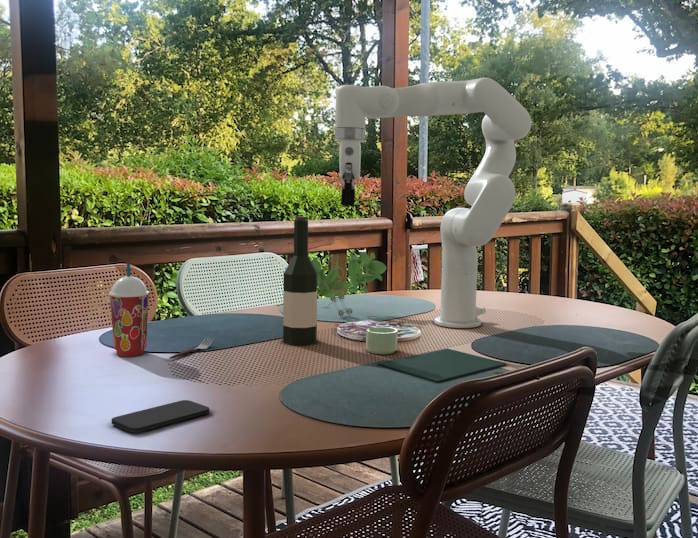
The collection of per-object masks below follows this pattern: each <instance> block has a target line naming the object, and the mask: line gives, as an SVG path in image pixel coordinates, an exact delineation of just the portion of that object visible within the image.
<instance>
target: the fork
mask: <svg viewBox="0 0 698 538" xmlns="http://www.w3.org/2000/svg"><path fill="white" fill-rule="evenodd" d="M214 340H215V337H212V336H211V337H210V336H208V337H207V336H206V335H205V338H204V339H203V340H202V341H201V343H200V344H199V345H197V347H195V348H191V349H187V350H183V351H180V352H178V353H176V354H174V355H171V356H169V359H175V358H178V357H181V356H185V355H188V354H190V353H192V352H193V351H196V350H207V349H209V347H210V346H211V344H213V341H214Z"/></svg>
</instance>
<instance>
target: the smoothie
mask: <svg viewBox="0 0 698 538" xmlns="http://www.w3.org/2000/svg"><path fill="white" fill-rule="evenodd" d="M149 294H150V291H149V290H148V289H147V286H146V284H145V283H144V282H143V281H142V280H141V279H140V278H139V277H137V276H133V275H131V263H126V275H125V276H122V277H120V278H118V279H117V280H116V281H115V282H114V284H113V285H112V287H111V289H110V291H109V292H108V295H109V307H110V316H111V327H112V337H113V338H112V339H113V349H114V350H115V352H116V355H117V356H120V357H137V356H141V355H143V354H144V353H145V349H146V348H147V340H148V339H147V338H148V318H149Z"/></svg>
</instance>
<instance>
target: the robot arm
mask: <svg viewBox="0 0 698 538" xmlns="http://www.w3.org/2000/svg"><path fill="white" fill-rule="evenodd" d="M477 113H484V114H485V115H484V117H483V118H482V121H481V131H482V135H483V137H484V141H485V152H484V155H483V157H482V159H481V161H480V163H479V164H478V166H477V168H476V169H475V171H474V172H473V175H472V176H471V177H470V179H469V181H468V182H467V184H466V186H465V188H464V193H463V195H464V196H463V197H464V200H465V202H466V203H467V204H468V205H469V206H471V207H470V208H468V207H455V208H451V209H449V210H448V211H446V213H445V214H444V215H443V217H442V219H441V222H440V239H441V252H442V254H441V256H442V257H441V281H440V284H441V286H440V313H439V315H438V316H436V317H435V318H433V319H434V321H433V322H434V324H435V325H437V326H440V327H444V328H451V329H472V328H473V329H474V328H478V327H480V326H481V325H482V320H481V319H480V318H478V316H479V315H485V313H486V312H487V310H486V308H485V307H483V306H482V307H478V306H477V287H478V268H479V267H478V266H479V259H478V258H479V256H478V249H477V247H482V246H485V245H487V244H488V243H489V242H491V240H492V239H493V238H494V237H495V235H496V233H497V231H498V230H499V229H500V227H501V225H502V224H503V222H504V220H505V218H506V217H507V215H508V213H509V212H510V210H511V209H512V206H513V205H514V202H515V198H516V186H515V184H514V182H513V181H512V179H511V178H510V175H511V173H512V171H513V170H514V167H515V165H516V161H517V150H516V149H517V148H516V144H515V141H519V140H521V139H524V138H525V137H527V136H528V134H529V133H530V131H531V128H532V118H531V115H530V113H529V111H528V110H527V109H526V107H524V105H522V104H521V103H520V101H518V100H517V99H516V98H515V97H514V96H513V95H512V94H511V93H510V92H509V91H508V90H506V88H505V87H504V86H503V85H501V84H500V83H498V81H496V80H494V79H492V78H490V77H480V78H474V79H467V80H451V81H428V82H422V83H417V84H413V85H409V86H402V87H393V88H392V87H391V86H387V85H374V86H362V85H357V84H342V85H339V86H338V87H337V88H336V90H335V113H334V114H335V116H334V117H335V119H334V142H336V143H339V148H338V149H339V151H338V152H339V153H338V154H339V155H338V157H339V159H338V160H339V162H338V165H339V166H338V167H339V178H340V181H341V182H342V189H341V196H340V197H341V198H340V199H341V200H340V201H341V202H340V204H341V206H344V207H345V206H347V207H354V206H355V203H356V188H355V180H356V182H360V181H361V161H362V160H361V159H362V148H361V147H362V146H361V143H365V142H366V118H367V119H385V118H387V119H388V118H400V117H403V118H404V117H434V116H435V117H436V116H448V115H467V114H477Z"/></svg>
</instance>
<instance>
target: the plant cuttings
mask: <svg viewBox="0 0 698 538" xmlns="http://www.w3.org/2000/svg"><path fill="white" fill-rule="evenodd" d="M347 254H348V256H349V257H347V261H348V265H347V273H348V276H349V278H350V281H349V282H347V281H343V277H344V276H345V274H344V273H345V272H344V269H343V268H342V266H340V265H339V254H338V253H336V255H335V254H330V255H329V256H328V259H329V262H330V263H331V264H332V265H331V268H330V269H329V271H328V273H327V274H324V273H325V271H327V269H328V267H327V266H326V265H325V266H324V267H323V268H322V265H321V262H320V261H319V260H318V259H317V258H315V257H314V258H312V259H311V262H312V264H313V265H314V267H315V269H316V271H317V272H318V275H317V286H318V287H317V297H318V296H322V297H325V298H329V299H330V301H331V302H330V303H329V304H328V305H327V307H328V306H331V305H332V304H334V306H335V309H337V313H338V316H339V317H341V318H344V319H348V318H349V317H350V315H352V314H353V308H351V307H346V304H345V301H344V299H345V295H347V294H348V293H349V292H350V294H353V293H355V292H356V290H357V289H358V287H361V291H362V292H364V293H365V295H367V293H368V292H369V289H368V286H367V283H371V282H372V281H374V280H376V279H377V280H379V281H381V282H383V276H382V274H384V273H385V272H386V270H387V266H386V264H385V263H384V262H381V261H379V260H375V259H376V255H375V253H374V252H371V254H370V255H369V254H367V253H366V252H364V251H360V252H359V255H360V256H357V255H355V252H354V251H351V252H350V251H349V252H348V253H347ZM332 256H334V257H335V258H336V261H335V262H332V259H331V258H332ZM334 264H335V265H334ZM333 266H334V267H333ZM339 269H340V270H341V271H342V276H340V274H339ZM337 278H338V280H337ZM365 284H366V285H365ZM345 292H346V293H345ZM338 301H339V302H340V303H341V305H342V307H343V308H344V309H340V308H339V306H338V304H337V302H338ZM342 302H343V303H342ZM279 306H280V307H281V306H283V303H280V304H276V307H279ZM345 314H347V316H346V317H345V316H344V315H345Z"/></svg>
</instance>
